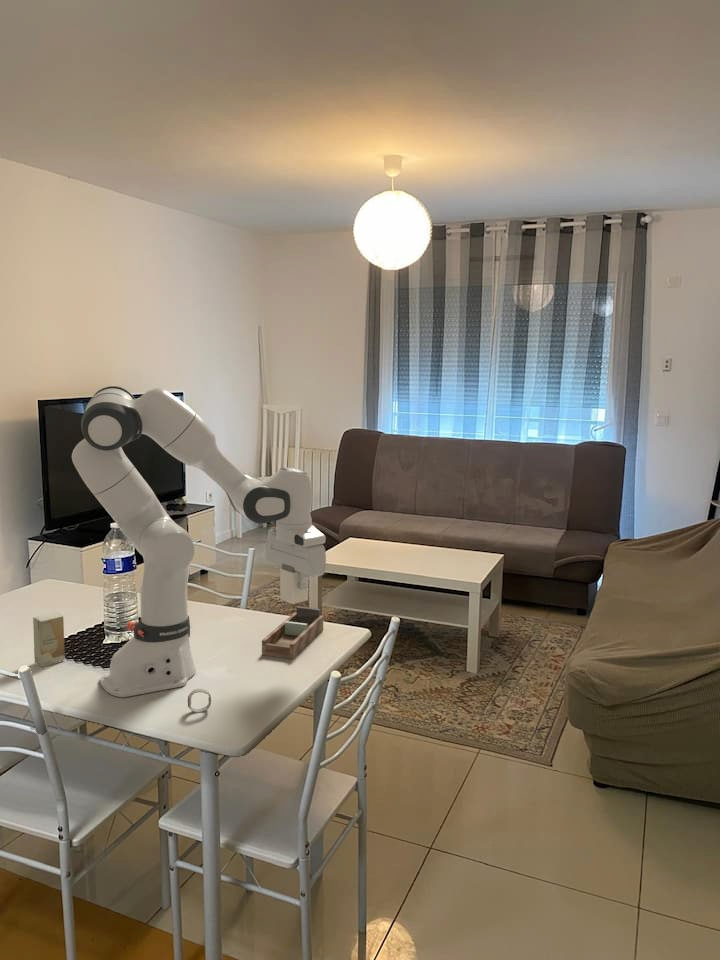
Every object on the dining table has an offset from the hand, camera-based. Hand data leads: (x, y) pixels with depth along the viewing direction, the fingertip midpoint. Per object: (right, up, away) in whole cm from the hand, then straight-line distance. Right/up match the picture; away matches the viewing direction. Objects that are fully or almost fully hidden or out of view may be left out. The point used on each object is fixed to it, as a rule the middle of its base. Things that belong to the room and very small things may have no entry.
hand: (293, 585), depth 181 cm
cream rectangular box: (0, -4, +1) cm, 4 cm away
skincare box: (-63, -20, +3) cm, 66 cm away
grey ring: (-19, -25, -22) cm, 38 cm away
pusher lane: (-2, -18, +19) cm, 26 cm away
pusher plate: (-1, -17, +20) cm, 26 cm away
